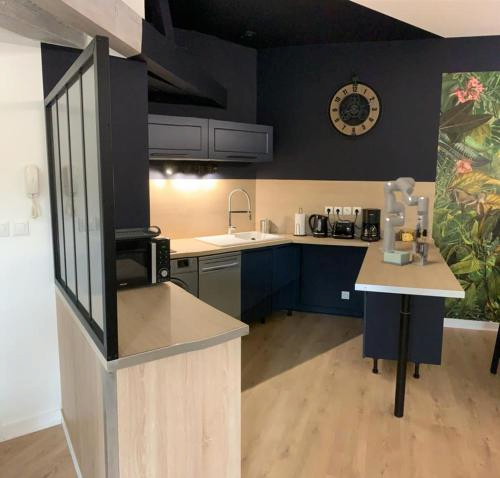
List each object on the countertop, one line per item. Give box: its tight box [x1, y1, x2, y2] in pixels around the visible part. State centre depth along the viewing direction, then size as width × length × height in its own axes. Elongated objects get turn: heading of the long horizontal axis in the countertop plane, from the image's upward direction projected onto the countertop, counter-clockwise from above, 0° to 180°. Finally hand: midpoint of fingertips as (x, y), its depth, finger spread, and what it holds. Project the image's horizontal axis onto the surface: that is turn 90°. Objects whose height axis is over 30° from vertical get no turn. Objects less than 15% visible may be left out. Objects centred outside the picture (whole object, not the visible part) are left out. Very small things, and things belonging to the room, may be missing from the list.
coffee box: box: [411, 241, 429, 267], centre depth 331 cm, size 9×6×16 cm
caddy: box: [381, 249, 412, 267], centre depth 336 cm, size 16×16×8 cm
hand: (421, 237), depth 328 cm, fingers open, 9 cm apart
